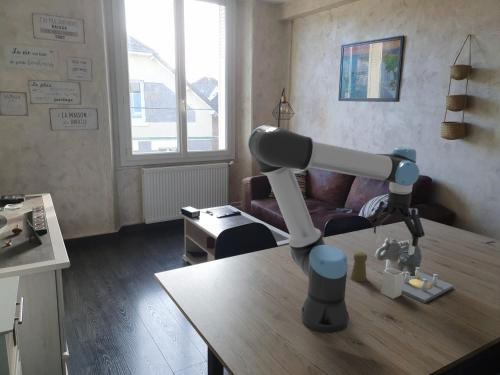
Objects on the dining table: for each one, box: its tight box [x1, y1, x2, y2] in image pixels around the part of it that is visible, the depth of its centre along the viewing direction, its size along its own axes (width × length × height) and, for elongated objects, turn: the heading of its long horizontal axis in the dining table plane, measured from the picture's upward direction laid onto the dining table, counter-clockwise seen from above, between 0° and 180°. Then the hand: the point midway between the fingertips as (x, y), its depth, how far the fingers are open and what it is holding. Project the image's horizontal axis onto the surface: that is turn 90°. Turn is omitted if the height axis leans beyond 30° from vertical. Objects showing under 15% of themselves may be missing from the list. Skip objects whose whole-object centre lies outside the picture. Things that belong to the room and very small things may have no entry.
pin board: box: [401, 266, 454, 304], centre depth 142 cm, size 20×15×6 cm
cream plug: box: [381, 267, 405, 300], centre depth 136 cm, size 5×5×9 cm
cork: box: [350, 251, 368, 283], centre depth 148 cm, size 6×6×11 cm
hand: (393, 248), depth 136 cm, fingers open, 13 cm apart
